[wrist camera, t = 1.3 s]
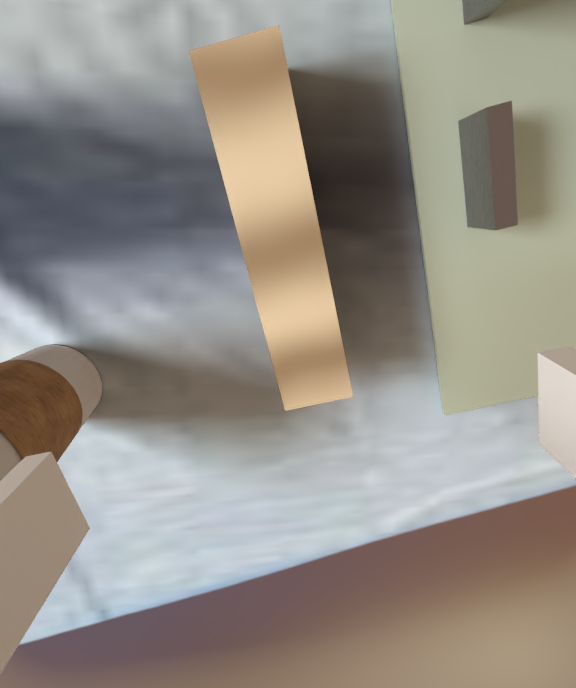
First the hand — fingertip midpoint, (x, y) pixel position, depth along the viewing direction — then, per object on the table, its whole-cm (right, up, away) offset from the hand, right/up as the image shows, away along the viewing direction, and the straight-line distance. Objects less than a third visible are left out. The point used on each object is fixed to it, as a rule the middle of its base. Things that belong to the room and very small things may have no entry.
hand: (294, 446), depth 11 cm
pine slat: (-1, +10, +15) cm, 18 cm away
